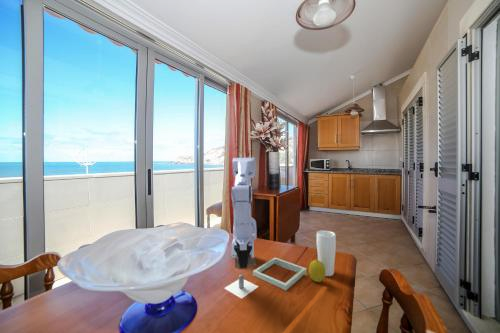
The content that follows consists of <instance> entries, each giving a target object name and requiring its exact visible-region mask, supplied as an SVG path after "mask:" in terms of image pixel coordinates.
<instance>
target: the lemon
mask: <svg viewBox="0 0 500 333" xmlns="http://www.w3.org/2000/svg"><path fill="white" fill-rule="evenodd" d="M308 275H309V277H310V278H311V280H312V281H313V282H316V283H321V282H323V281H324V280H325V278H326V276H325V275H326V271H325V266H324V264H323V263H322V262H321V261H319V260H318V259H314V260H312V261H311V262H310V263H309V267H308Z"/></svg>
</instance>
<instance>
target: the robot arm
mask: <svg viewBox="0 0 500 333" xmlns="http://www.w3.org/2000/svg"><path fill="white" fill-rule="evenodd" d="M232 171H233V172H232V173H233V176H234V178H235V179H234V185H233V186H231V201H232V209H233V227H232V228H233V229H232V238H233V239H232V241H231V258H233V259H235V255H236V254H237V256H238V261H239V266H240V268H247V264H248V258H249V255H250V254H251V258H255V252H254V251H255V248H254V247H255V245H254V244H255V243H254V242H255V240H256V239H257V221H256V219H255V218H253V217H252V203H253V188H252V179H253V178H255V176H256V158H255V157H254V156H253V157H233V158H232Z"/></svg>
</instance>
